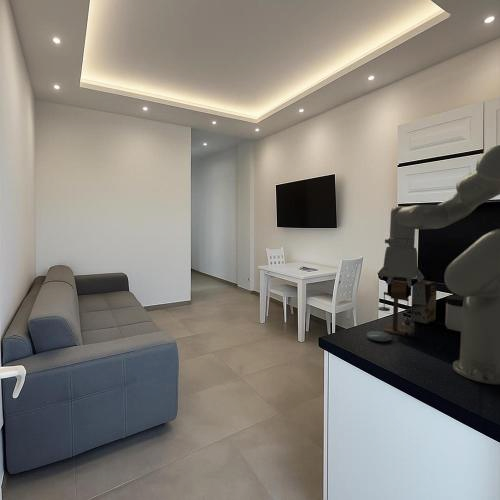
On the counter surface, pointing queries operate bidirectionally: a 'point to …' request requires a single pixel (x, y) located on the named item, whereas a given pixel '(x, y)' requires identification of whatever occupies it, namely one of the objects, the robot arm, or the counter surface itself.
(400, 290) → the block
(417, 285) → the coffee box
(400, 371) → the counter surface
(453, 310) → the jar
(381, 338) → the dish
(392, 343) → the counter surface
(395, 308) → the balance
